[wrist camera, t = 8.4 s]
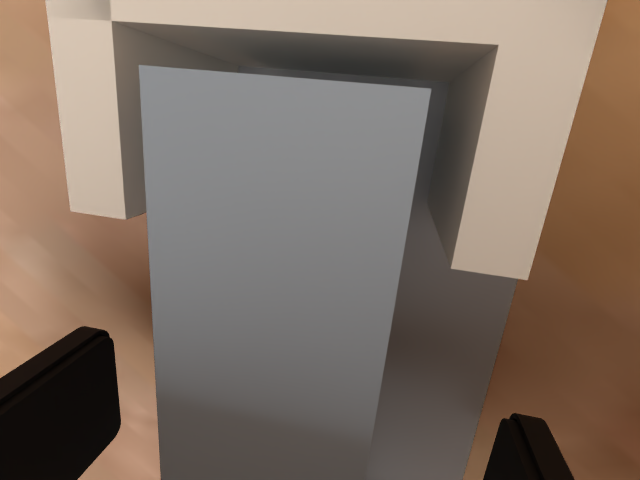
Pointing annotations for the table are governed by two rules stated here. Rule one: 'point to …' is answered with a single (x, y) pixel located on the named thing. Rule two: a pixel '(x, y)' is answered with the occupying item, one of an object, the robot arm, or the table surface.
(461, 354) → the endcap board
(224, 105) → the blue-grey rectangular bar
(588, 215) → the table surface
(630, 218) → the table surface
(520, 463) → the robot arm
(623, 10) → the table surface
